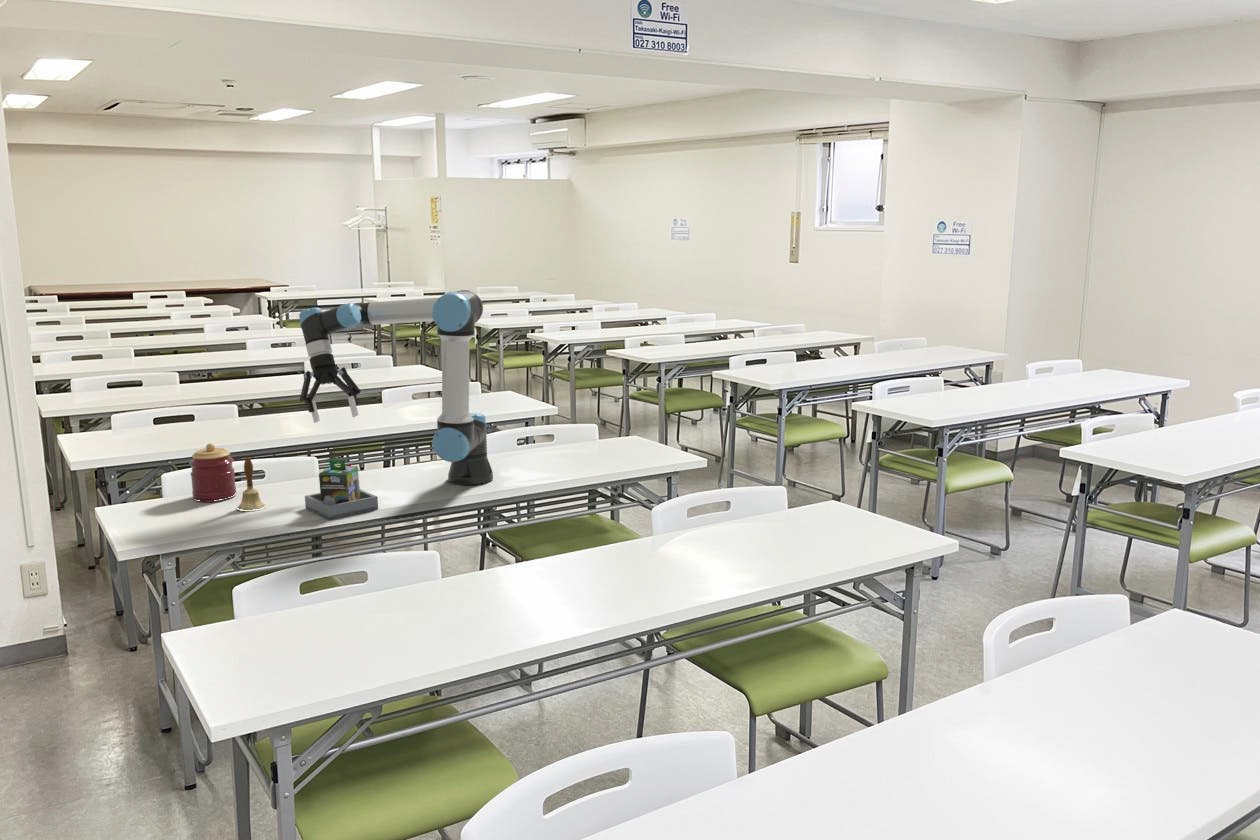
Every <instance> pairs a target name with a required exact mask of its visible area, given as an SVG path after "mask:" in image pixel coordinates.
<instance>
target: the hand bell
mask: <svg viewBox="0 0 1260 840" xmlns="http://www.w3.org/2000/svg"><path fill="white" fill-rule="evenodd" d="M243 471H244V474H245V476H246V489H245V490H243V491H242V497H241V502H240V504H239V505H238V506H237V508H239V509H243V510H253V509H260V508H262V507H264V506H265V505H266V504H265V503H264V502H263V501H262V500H261V497H260V494H259V490H258V489H256V488H255V487H254V484H253V473H254V464H253V463H252V460H251V457H245V460H244V464H243Z"/></svg>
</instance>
